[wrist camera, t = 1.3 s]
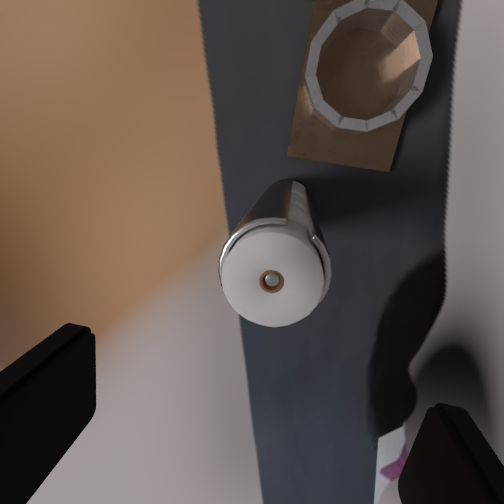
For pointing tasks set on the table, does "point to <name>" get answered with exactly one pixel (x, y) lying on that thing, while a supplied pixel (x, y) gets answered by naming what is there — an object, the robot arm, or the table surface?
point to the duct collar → (360, 79)
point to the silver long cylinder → (276, 258)
